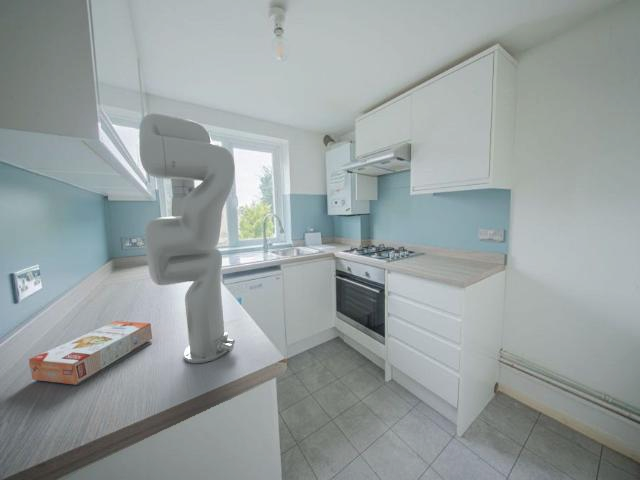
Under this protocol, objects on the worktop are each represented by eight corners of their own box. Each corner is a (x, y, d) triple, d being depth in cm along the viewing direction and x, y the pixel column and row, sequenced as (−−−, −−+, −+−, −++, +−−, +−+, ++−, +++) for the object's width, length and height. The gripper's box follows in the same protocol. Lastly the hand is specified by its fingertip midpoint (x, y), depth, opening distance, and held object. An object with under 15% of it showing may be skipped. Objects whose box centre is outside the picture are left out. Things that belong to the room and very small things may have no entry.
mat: (151, 343, 72) (151, 342, 72) (79, 384, 55) (79, 383, 55) (115, 338, 76) (115, 337, 76) (38, 374, 59) (37, 373, 59)
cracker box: (151, 321, 74) (72, 363, 53) (153, 338, 74) (76, 386, 54) (115, 319, 76) (26, 359, 56) (117, 336, 77) (30, 381, 56)
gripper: (207, 192, 87) (211, 239, 89) (177, 194, 91) (181, 239, 93) (192, 190, 80) (196, 242, 82) (159, 193, 84) (164, 242, 86)
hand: (188, 240), depth 87 cm, fingers closed
